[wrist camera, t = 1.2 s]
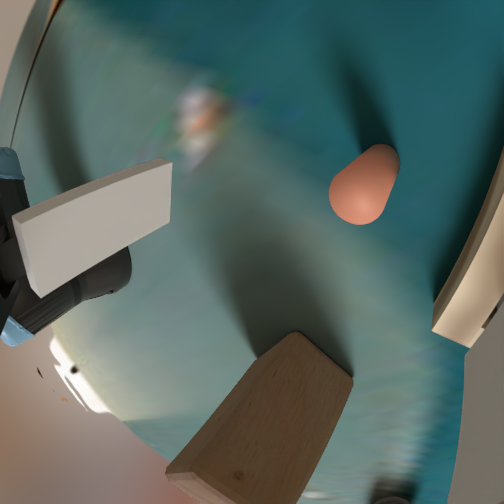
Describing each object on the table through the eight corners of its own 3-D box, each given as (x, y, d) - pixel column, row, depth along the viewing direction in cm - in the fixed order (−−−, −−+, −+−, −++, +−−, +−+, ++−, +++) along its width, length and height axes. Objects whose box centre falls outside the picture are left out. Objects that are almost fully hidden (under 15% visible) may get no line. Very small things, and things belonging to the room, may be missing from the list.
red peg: (359, 173, 24) (322, 212, 17) (368, 138, 23) (336, 159, 15) (393, 186, 23) (375, 233, 16) (404, 151, 22) (393, 180, 14)
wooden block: (297, 324, 35) (187, 472, 20) (359, 379, 34) (283, 533, 18) (254, 359, 41) (158, 474, 26) (308, 404, 40) (232, 525, 25)
